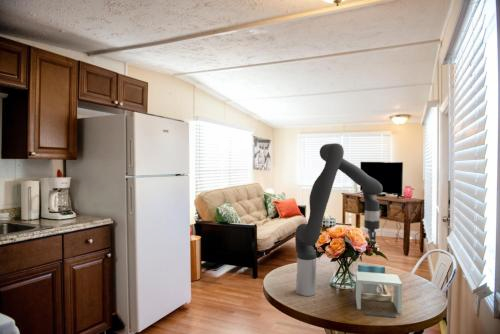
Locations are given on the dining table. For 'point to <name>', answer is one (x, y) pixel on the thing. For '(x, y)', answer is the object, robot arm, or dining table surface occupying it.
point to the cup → (371, 288)
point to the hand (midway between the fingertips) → (371, 249)
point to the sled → (381, 296)
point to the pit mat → (380, 314)
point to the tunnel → (380, 280)
